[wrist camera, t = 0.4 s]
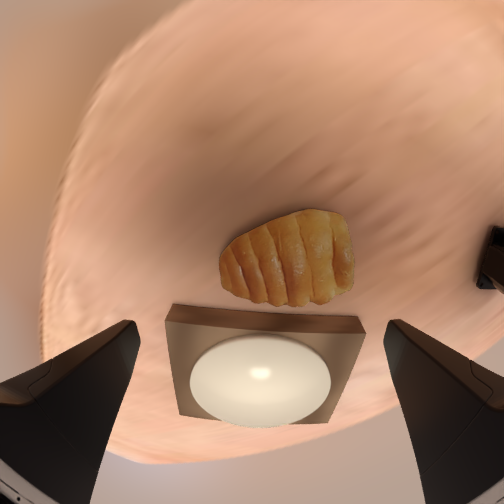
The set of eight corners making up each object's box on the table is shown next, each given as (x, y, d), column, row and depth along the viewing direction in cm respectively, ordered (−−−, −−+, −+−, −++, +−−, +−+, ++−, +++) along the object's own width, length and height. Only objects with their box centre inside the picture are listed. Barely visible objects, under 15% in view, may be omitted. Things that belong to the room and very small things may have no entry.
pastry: (233, 303, 22) (228, 333, 19) (210, 224, 20) (199, 243, 16) (348, 282, 21) (362, 308, 18) (340, 199, 19) (358, 212, 15)
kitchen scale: (357, 316, 23) (369, 339, 20) (324, 406, 27) (328, 428, 24) (173, 304, 23) (161, 326, 20) (184, 398, 27) (178, 420, 24)
